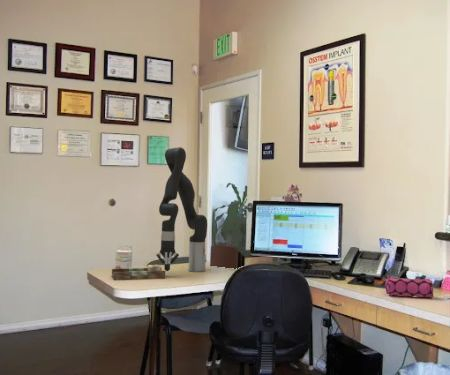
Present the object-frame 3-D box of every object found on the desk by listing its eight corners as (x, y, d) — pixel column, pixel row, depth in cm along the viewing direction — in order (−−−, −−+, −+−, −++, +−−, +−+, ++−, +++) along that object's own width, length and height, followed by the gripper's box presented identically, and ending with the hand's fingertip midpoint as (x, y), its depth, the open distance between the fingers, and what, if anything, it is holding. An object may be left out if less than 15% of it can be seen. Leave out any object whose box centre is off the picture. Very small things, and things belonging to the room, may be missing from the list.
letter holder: (237, 270, 298) (237, 246, 298) (209, 266, 308) (210, 244, 308) (245, 268, 306) (245, 245, 306) (218, 264, 317) (218, 242, 317)
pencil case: (387, 298, 231) (388, 276, 231) (384, 293, 240) (384, 273, 240) (435, 300, 228) (435, 279, 228) (429, 296, 238) (430, 275, 237)
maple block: (158, 271, 272) (158, 264, 272) (160, 273, 266) (160, 266, 266) (147, 272, 270) (147, 265, 270) (149, 274, 264) (149, 266, 264)
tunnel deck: (160, 274, 275) (161, 267, 275) (165, 278, 264) (165, 271, 264) (111, 276, 267) (112, 268, 267) (114, 280, 255) (114, 272, 255)
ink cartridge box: (114, 271, 281) (115, 245, 281) (117, 270, 286) (118, 244, 286) (129, 272, 280) (130, 246, 280) (131, 270, 285) (132, 245, 285)
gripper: (178, 238, 276) (177, 269, 276) (154, 238, 271) (153, 270, 271) (181, 240, 269) (180, 271, 269) (157, 240, 264) (156, 272, 264)
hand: (167, 270), depth 270 cm, fingers closed
